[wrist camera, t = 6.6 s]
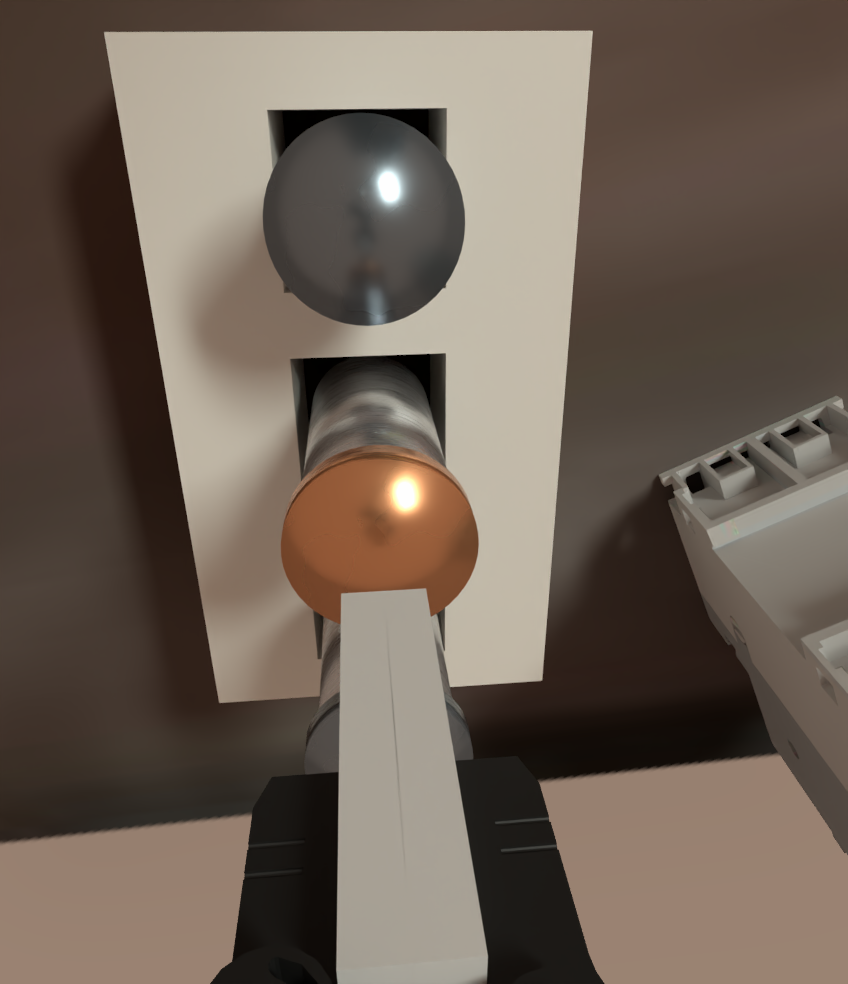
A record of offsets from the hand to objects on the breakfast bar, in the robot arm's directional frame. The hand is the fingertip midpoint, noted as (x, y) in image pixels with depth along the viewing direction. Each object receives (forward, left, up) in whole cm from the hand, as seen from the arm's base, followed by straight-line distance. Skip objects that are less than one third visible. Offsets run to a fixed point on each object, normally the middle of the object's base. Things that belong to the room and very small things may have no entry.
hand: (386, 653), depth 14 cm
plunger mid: (0, 0, -12) cm, 12 cm away
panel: (0, 0, -16) cm, 16 cm away
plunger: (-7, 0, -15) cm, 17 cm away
